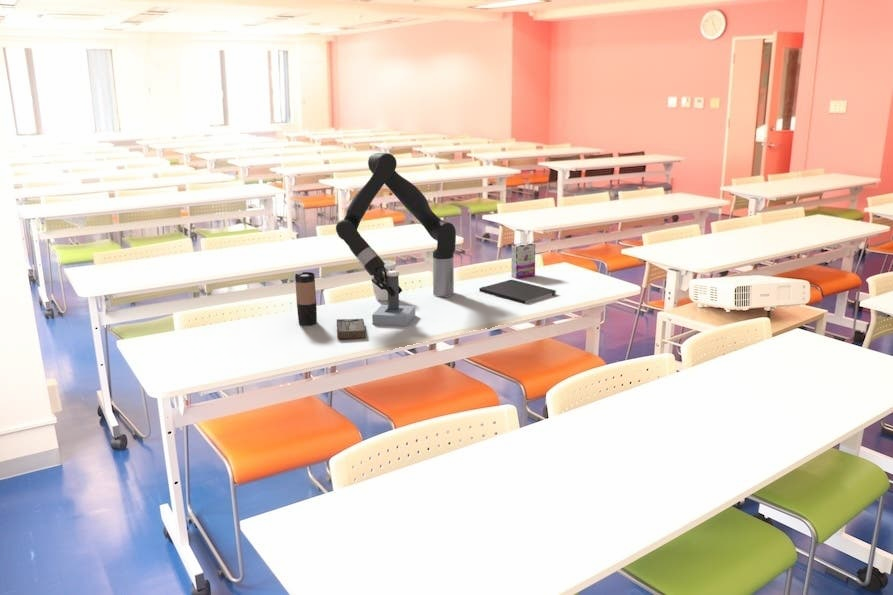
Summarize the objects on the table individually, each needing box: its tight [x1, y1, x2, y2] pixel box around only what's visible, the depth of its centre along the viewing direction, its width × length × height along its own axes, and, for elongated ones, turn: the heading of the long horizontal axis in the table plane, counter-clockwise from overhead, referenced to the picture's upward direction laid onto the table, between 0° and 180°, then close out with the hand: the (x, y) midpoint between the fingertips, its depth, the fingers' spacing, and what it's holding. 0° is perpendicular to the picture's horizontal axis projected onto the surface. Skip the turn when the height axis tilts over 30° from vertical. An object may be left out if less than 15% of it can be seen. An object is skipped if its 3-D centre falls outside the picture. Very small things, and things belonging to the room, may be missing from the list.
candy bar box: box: [511, 241, 536, 280], centre depth 359 cm, size 11×5×16 cm, turn 119°
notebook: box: [478, 279, 557, 305], centre depth 333 cm, size 22×2×28 cm
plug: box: [386, 270, 400, 310], centre depth 293 cm, size 5×5×15 cm
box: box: [336, 318, 366, 340], centre depth 282 cm, size 11×17×3 cm, turn 9°
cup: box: [370, 259, 396, 301], centre depth 324 cm, size 12×12×16 cm
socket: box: [371, 303, 416, 327], centre depth 296 cm, size 14×14×4 cm
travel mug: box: [294, 271, 318, 327], centre depth 291 cm, size 8×8×20 cm
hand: (397, 293), depth 293 cm, fingers closed on plug, 4 cm apart
